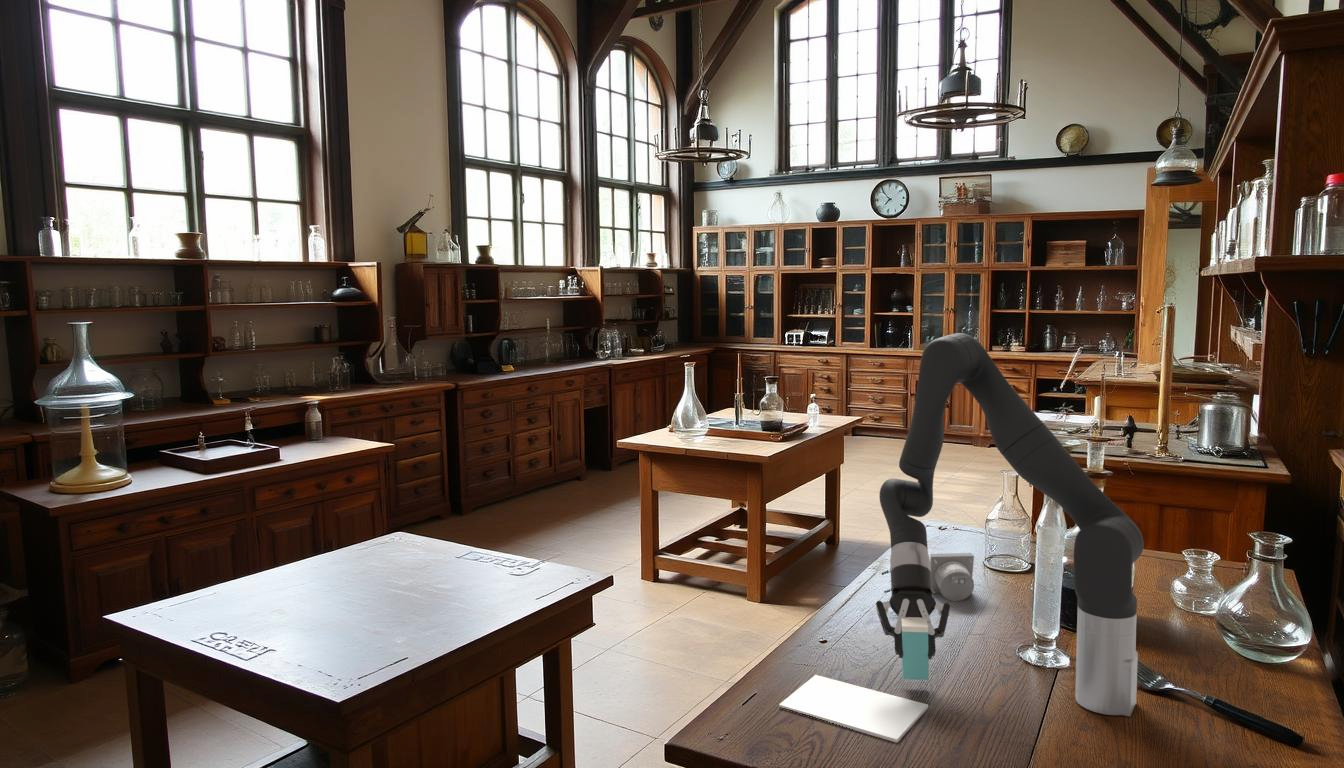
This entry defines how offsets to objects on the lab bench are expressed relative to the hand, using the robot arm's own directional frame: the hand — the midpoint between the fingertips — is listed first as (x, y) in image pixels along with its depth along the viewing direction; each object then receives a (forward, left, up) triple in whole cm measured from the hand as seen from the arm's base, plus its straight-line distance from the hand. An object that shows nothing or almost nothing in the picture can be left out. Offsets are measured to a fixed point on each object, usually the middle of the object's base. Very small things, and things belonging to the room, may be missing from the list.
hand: (915, 656), depth 160 cm
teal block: (+1, -2, -4) cm, 5 cm away
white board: (+7, +11, -7) cm, 15 cm away
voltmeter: (+14, -45, -7) cm, 48 cm away
